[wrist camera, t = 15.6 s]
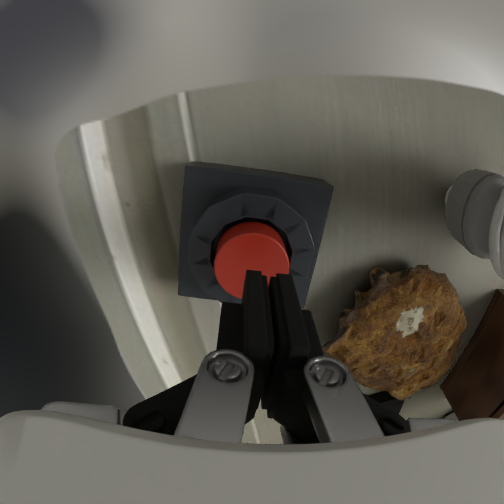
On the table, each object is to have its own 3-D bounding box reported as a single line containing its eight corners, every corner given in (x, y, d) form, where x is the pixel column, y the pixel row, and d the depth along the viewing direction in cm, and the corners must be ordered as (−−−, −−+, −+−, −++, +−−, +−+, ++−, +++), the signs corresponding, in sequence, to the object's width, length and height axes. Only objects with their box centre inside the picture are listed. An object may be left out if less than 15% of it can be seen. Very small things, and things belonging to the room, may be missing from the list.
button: (220, 216, 15) (217, 228, 13) (290, 225, 15) (296, 238, 13) (213, 279, 16) (210, 296, 15) (278, 286, 16) (281, 304, 15)
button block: (191, 161, 16) (178, 170, 13) (324, 179, 17) (343, 193, 14) (183, 280, 20) (172, 310, 17) (298, 293, 20) (307, 324, 17)
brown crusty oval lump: (468, 322, 23) (401, 226, 19) (490, 344, 19) (431, 245, 16) (389, 396, 26) (294, 333, 22) (402, 424, 22) (304, 369, 18)
